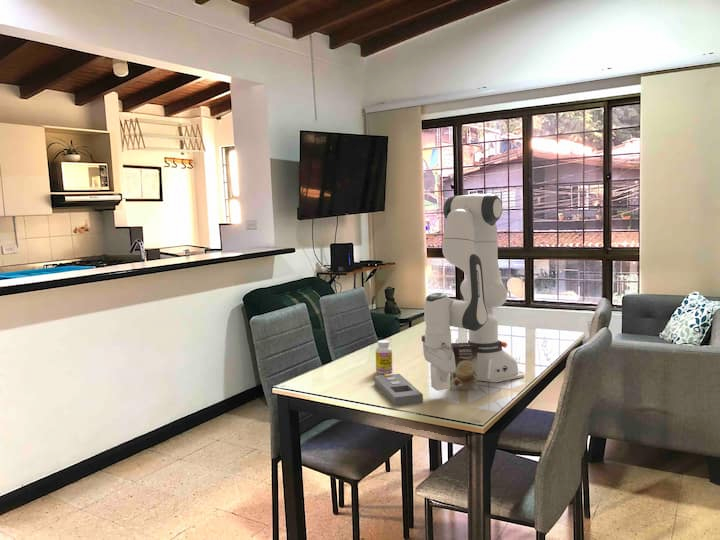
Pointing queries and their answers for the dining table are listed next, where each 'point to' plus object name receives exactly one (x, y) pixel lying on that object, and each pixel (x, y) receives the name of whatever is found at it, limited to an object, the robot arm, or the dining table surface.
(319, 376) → the dining table surface
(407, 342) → the dining table surface
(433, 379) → the block
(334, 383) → the dining table surface
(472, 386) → the coffee box
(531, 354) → the dining table surface
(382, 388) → the power strip
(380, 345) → the supplement bottle
